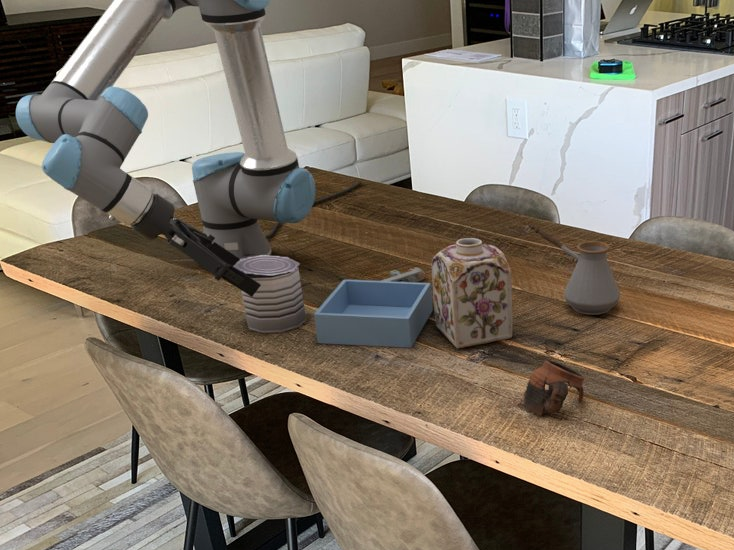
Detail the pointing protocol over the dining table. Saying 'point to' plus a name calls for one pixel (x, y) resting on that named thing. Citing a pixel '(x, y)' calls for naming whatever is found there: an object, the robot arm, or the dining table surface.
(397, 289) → the tote
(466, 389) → the dining table surface
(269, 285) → the can
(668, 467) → the dining table surface
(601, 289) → the coffee pot
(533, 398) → the pottery mug
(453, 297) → the decorative jar
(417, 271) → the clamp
